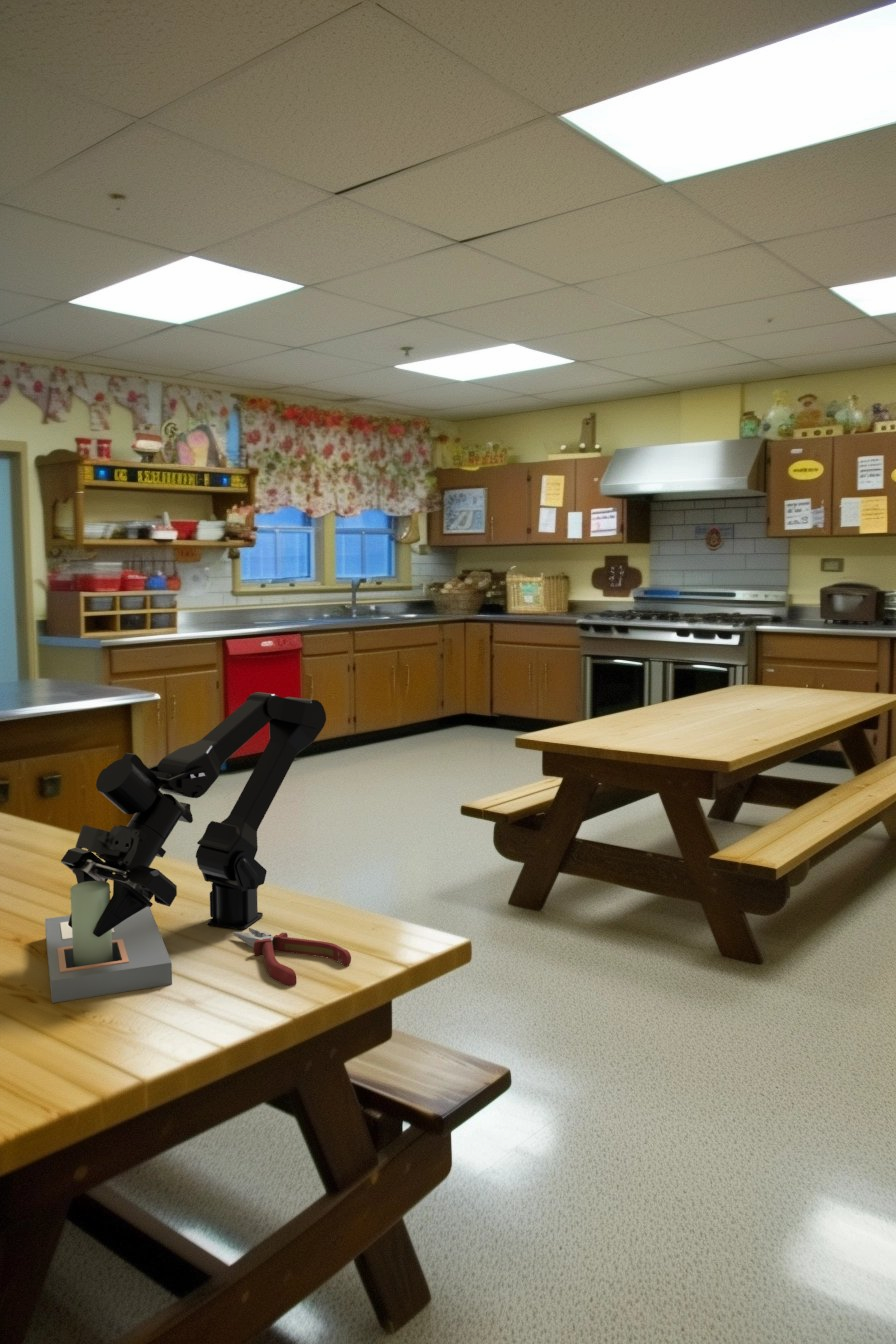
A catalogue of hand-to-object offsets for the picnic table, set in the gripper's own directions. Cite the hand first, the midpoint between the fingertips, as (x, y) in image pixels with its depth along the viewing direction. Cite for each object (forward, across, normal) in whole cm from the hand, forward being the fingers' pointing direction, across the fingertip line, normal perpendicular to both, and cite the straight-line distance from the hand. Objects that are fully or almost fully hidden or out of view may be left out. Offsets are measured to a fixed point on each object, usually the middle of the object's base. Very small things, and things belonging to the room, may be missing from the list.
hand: (83, 931), depth 136 cm
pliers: (-11, +17, +22) cm, 29 cm away
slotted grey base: (+1, -4, +9) cm, 10 cm away
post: (+3, 0, +5) cm, 5 cm away
